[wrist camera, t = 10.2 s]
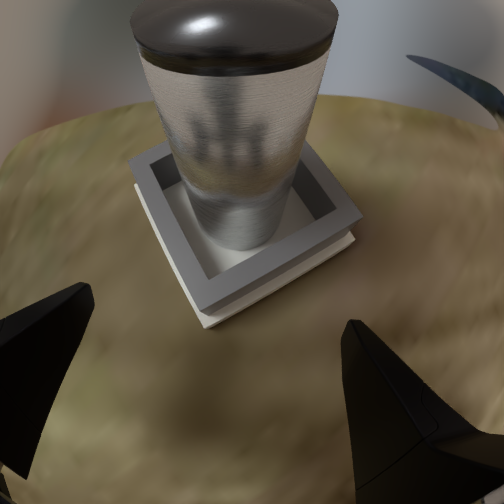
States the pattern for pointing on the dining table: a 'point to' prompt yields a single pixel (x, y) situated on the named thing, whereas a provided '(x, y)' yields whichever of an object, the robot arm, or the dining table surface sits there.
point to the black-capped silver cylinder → (235, 102)
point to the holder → (252, 260)
